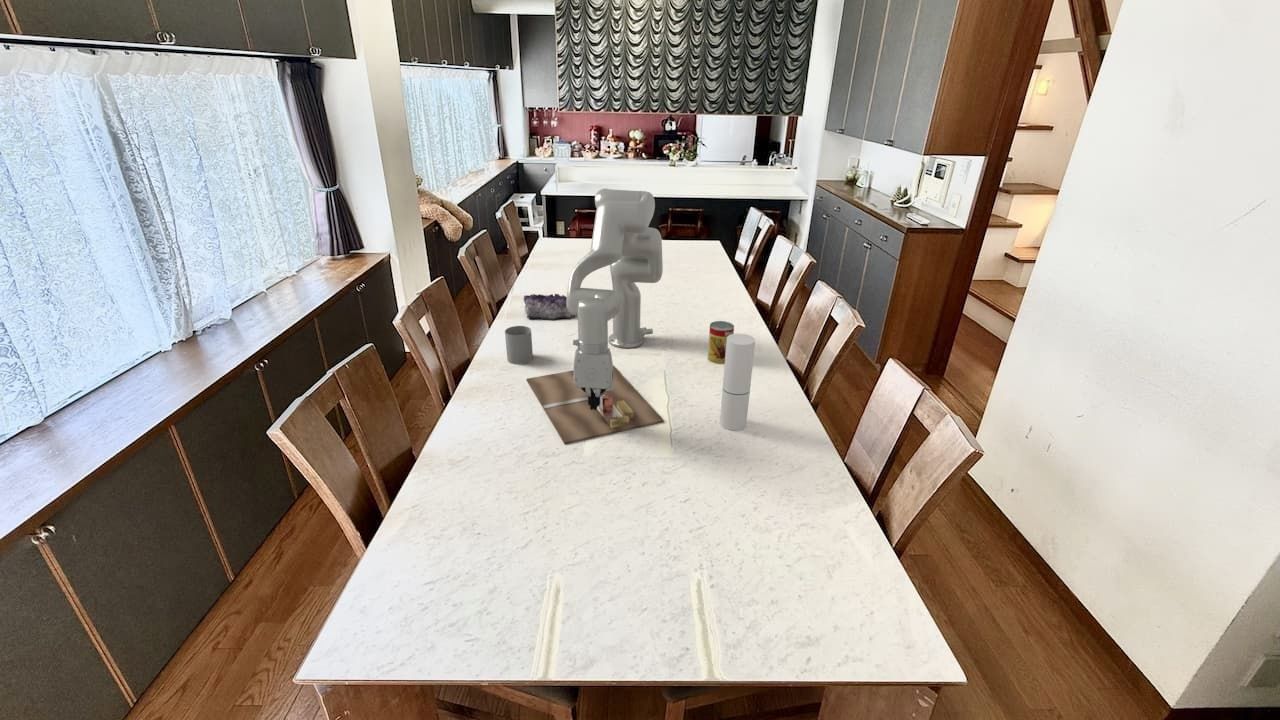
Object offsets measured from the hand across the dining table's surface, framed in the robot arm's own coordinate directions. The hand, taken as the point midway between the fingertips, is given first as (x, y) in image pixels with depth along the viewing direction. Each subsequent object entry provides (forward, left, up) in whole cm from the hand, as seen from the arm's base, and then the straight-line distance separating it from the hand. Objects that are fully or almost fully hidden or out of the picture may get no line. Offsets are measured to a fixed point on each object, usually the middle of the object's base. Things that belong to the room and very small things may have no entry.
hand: (594, 407), depth 162 cm
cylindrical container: (-34, +17, -4) cm, 38 cm away
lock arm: (-4, -3, -3) cm, 6 cm away
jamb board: (-3, -10, -3) cm, 11 cm away
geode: (-11, -79, -4) cm, 80 cm away
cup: (+9, -45, -4) cm, 46 cm away
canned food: (-52, -20, -4) cm, 55 cm away
